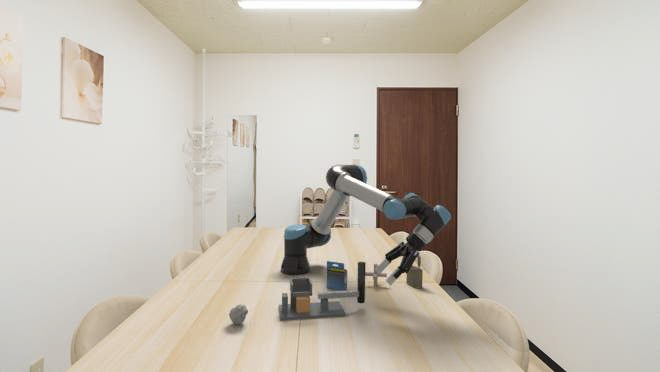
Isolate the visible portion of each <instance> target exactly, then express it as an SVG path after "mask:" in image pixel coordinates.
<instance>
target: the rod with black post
mask: <svg viewBox="0 0 660 372" xmlns="http://www.w3.org/2000/svg"><path fill="white" fill-rule="evenodd" d="M366 265H367V264H366V261H365V262H364V261H358V262H357V288H356V289H349V290H347V289H346V290H331V291H329V290H328V291H317V300H321V299H328V300H329V299H344V298H356V301H357V304H365V303H366V276H365V272H366Z"/></svg>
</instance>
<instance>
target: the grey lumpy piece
mask: <svg viewBox="0 0 660 372" xmlns="http://www.w3.org/2000/svg"><path fill="white" fill-rule="evenodd" d="M248 314H249V310H248V308H247V307H246V304H237V305H236V306H235V307H232V308H230V311H229V314H228V316H229V319H230V321H231V323H233V324H234V325H236V326H237V325H242V324H243V323H244V322H245V320H246V318H247V317H246V316H247V315H248Z"/></svg>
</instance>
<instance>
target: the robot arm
mask: <svg viewBox="0 0 660 372" xmlns="http://www.w3.org/2000/svg"><path fill="white" fill-rule="evenodd" d="M367 174H368V173H367V172H366V170H365V168H364V167H363V166H361V165H359V164H336V165H333V166H331V167H330V168H329V169H327V172H326V175H325V180H326V184H327V185H328V186H329V188H331V189H332V192H331V194H330V195H329V196H328V199H326V201H325V204H324V205H323V207H322V209H321V210H320V212H319V214H318V215H317V217H316V218H314V219H312V220H311V222H310V223H309V225H305V224H293V225H288V226H287V227H285V229H284V234H283V239H284V242H283V243H284V247H283V248H284V250H283V252H284V255H283V259H282V261H281V262H282V263H281V264H280V265H281V266H280V271H281V273H283V274H286V275H295V276H296V275H304V274H307V273H309V272H310V271H311V264H310V261H309V258H308V255H307V252H308V249H313V248H316V247H317V248H318V247H323V246H325V245H327V244H328V243H329V242H330V240H331V238H332V228H331V227H332V225H333V223H334V221H336V219H337V217H338V216H339V214H340V212H341V211H342V209H343V207H344V206H345V204H346V202H347V201H348V199H349V198H350V197H352V198H355V199H356V200H358V201H361V202H363V203H365V204H366V205H368V206H371V207H372V208H374V209H376V210H379V211H380V212H383V214H384V215H385V217H386V218H387V219H388V220H392V221H393V220H396V221H397V220H401V219H406V218H411V217H415V218H416V219H417V220H419V221H420V222H419V223H418V224H417V225H416V226H415V227H414V229H413V230H412V232H410V233H409V234H408V235H407V237H405V240H406V243H405V242H404V241H401V242H400V243H399V244H398V245H397V246H395V247H394V248H392V249H391V250H390V251H388V252H386V253H385V254H384V257H385V258H384V259H383V260H382V261H381V262H380V264H378V267H377V268H376V269H375V271H376V272H377V273H378V274H379V275H380V274H381V273H383V271H384V270H385V269H387V267H388V266H389V265H390V264H391V263H392V261H395V260H397V259H399V258H400V257H402V259H401V261H400V263H399V266H397V267H396V268H395V269H394V270H393V272H392V273H390V274H389V276H387V277H386V279H385V282H386V283H387V284H388V285H389V286H393V284H394V283H395V282H396V281H397V279H399V278H400V277H401V276H402V274H407V273H408V272H409V270H410V268H411V266H414V262H416V260H417V259H418V258H417V256H418V255H420V254H421V253H420V252H421V251H422V250H424V248H425V247H426V245H427V244H428V243H430V242H431V241H433V239H434V238H435V237H436V236H437V234H439V232H440V231H441V230H442V229H443V228H444V227H446V225H447V224H448V222H449V221H450V220H451V219H452V215H451V213H450V211H449V210H448V209H447V208H445V207H444V206H443V205H440V204H437V205H435V206H432V205H431V204H430V203H428V202H427V201H425V200H424V199H423V198H422V197H420V195H417V194H415V193H414V192H409V193H408V194H406V195H405V196H404V197H403V198H398V197H397V196H395V195H392V194H390V193H387V192H385V191H383V190H381V189H378V188H376V187H374V186H372V185H370V184H368V183H367V181H368V176H367Z"/></svg>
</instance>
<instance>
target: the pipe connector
mask: <svg viewBox="0 0 660 372" xmlns="http://www.w3.org/2000/svg"><path fill="white" fill-rule="evenodd" d="M378 265H379V264H378V263H373V272H371V271H365V277H372V280H373V286H374V287H377V286H378V283H379V282H378V281H379V280H378V279H379V278H388V275H387V273H385V272H381V274H380V275H379V274H378V273H377V272H376V271H375V269H376V268H377V267H378ZM378 277H379V278H378Z"/></svg>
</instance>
